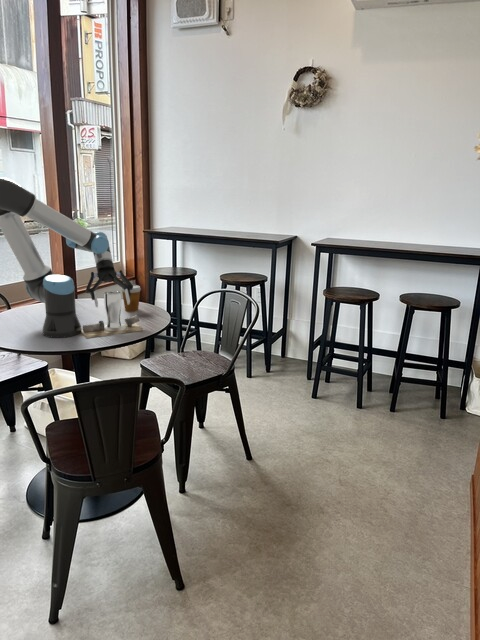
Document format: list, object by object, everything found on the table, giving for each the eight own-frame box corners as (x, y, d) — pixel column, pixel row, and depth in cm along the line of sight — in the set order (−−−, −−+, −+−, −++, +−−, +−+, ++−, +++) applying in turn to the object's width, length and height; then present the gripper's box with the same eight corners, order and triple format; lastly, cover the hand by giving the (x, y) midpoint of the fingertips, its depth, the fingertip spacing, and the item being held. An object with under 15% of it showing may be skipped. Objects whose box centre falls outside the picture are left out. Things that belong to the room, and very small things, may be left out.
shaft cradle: (86, 338, 194) (85, 324, 193) (79, 331, 202) (78, 318, 201) (143, 330, 207) (143, 317, 205) (135, 324, 215) (134, 312, 213)
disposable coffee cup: (143, 308, 242) (143, 285, 239) (138, 313, 233) (137, 289, 230) (125, 307, 243) (124, 284, 240) (119, 312, 234) (118, 288, 231)
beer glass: (125, 326, 206) (124, 292, 202) (114, 330, 200) (112, 295, 196) (113, 323, 209) (112, 290, 205) (102, 327, 204) (100, 292, 199)
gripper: (130, 266, 224) (140, 306, 216) (74, 269, 213) (82, 311, 205) (133, 257, 218) (143, 297, 210) (75, 260, 207) (83, 302, 199)
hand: (113, 304), depth 207 cm, fingers open, 13 cm apart
